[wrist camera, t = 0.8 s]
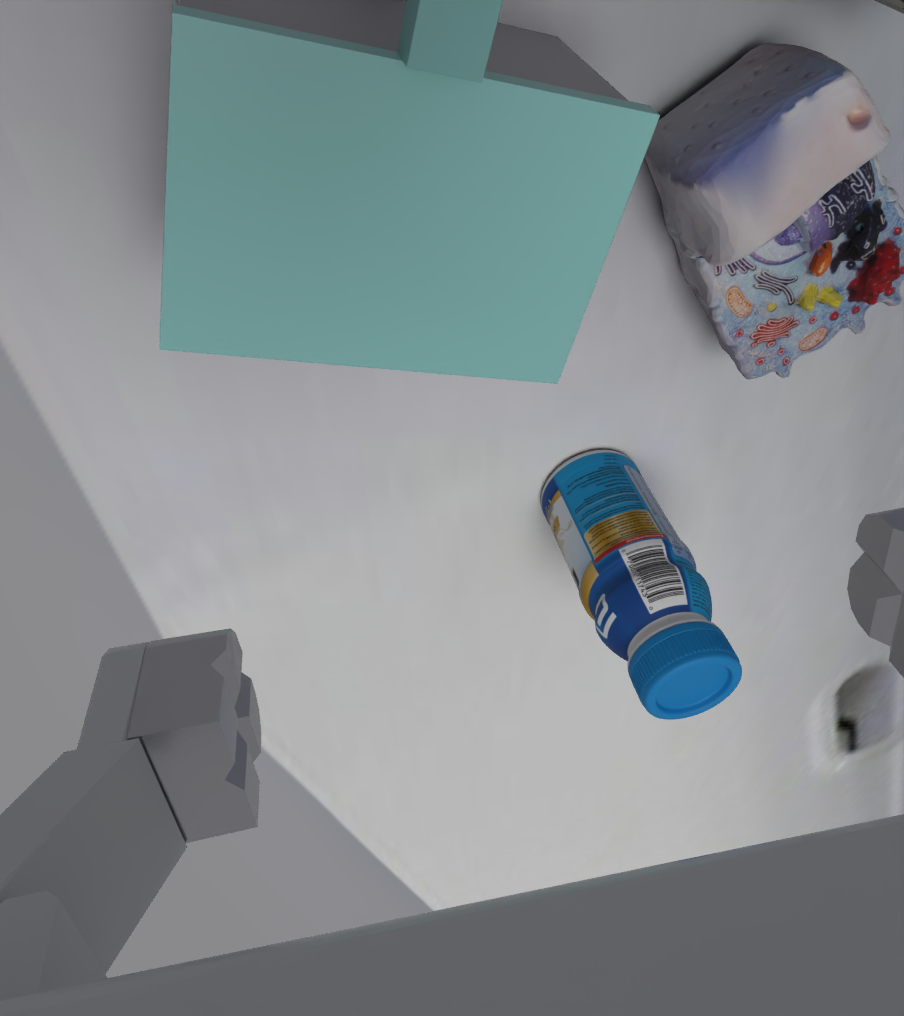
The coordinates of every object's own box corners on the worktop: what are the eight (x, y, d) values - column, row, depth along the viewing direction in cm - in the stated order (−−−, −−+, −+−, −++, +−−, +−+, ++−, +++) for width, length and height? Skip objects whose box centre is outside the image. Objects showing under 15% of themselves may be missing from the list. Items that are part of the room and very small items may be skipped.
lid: (178, -169, 28) (179, -162, 26) (697, -25, 34) (720, -13, 33) (159, 335, 39) (159, 359, 38) (550, 370, 46) (562, 392, 44)
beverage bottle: (658, 464, 69) (783, 662, 55) (593, 535, 73) (693, 737, 59) (581, 430, 65) (695, 636, 51) (516, 508, 69) (605, 719, 55)
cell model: (889, 46, 39) (986, 309, 52) (769, -15, 46) (879, 228, 59) (652, 244, 43) (797, 443, 56) (576, 158, 50) (719, 351, 63)
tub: (179, -52, 39) (180, 15, 31) (556, 36, 46) (640, 111, 37) (167, 220, 47) (167, 330, 39) (490, 263, 54) (546, 365, 46)
